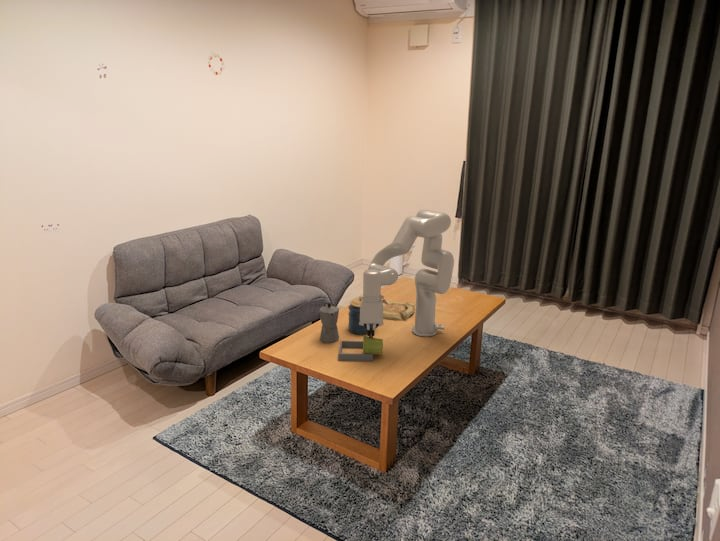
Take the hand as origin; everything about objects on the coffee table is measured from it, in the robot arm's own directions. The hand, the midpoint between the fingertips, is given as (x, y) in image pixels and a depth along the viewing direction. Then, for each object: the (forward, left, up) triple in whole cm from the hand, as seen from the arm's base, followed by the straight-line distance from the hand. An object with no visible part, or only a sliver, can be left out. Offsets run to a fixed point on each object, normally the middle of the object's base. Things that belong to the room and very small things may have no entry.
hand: (371, 337), depth 226 cm
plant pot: (-6, +1, -4) cm, 7 cm away
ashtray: (-12, -51, -9) cm, 53 cm away
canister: (+5, -27, -8) cm, 29 cm away
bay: (+6, 0, -8) cm, 10 cm away
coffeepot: (+20, -16, -8) cm, 27 cm away
